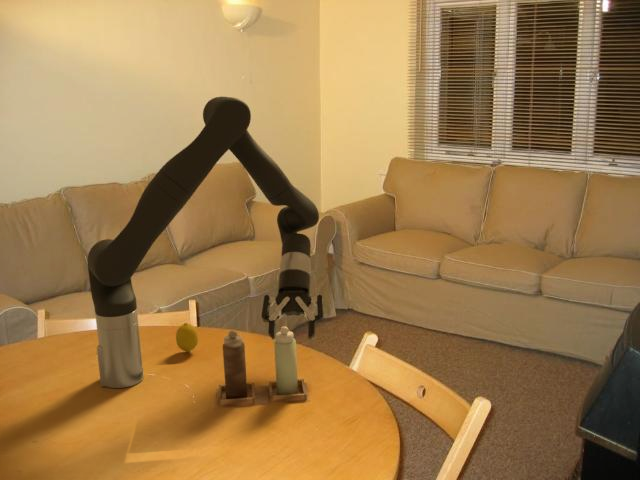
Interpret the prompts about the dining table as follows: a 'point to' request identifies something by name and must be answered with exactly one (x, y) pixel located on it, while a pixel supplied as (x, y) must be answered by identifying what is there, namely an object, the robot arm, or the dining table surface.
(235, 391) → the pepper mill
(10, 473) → the dining table surface
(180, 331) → the lemon
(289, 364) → the salt mill
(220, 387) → the cruet stand
